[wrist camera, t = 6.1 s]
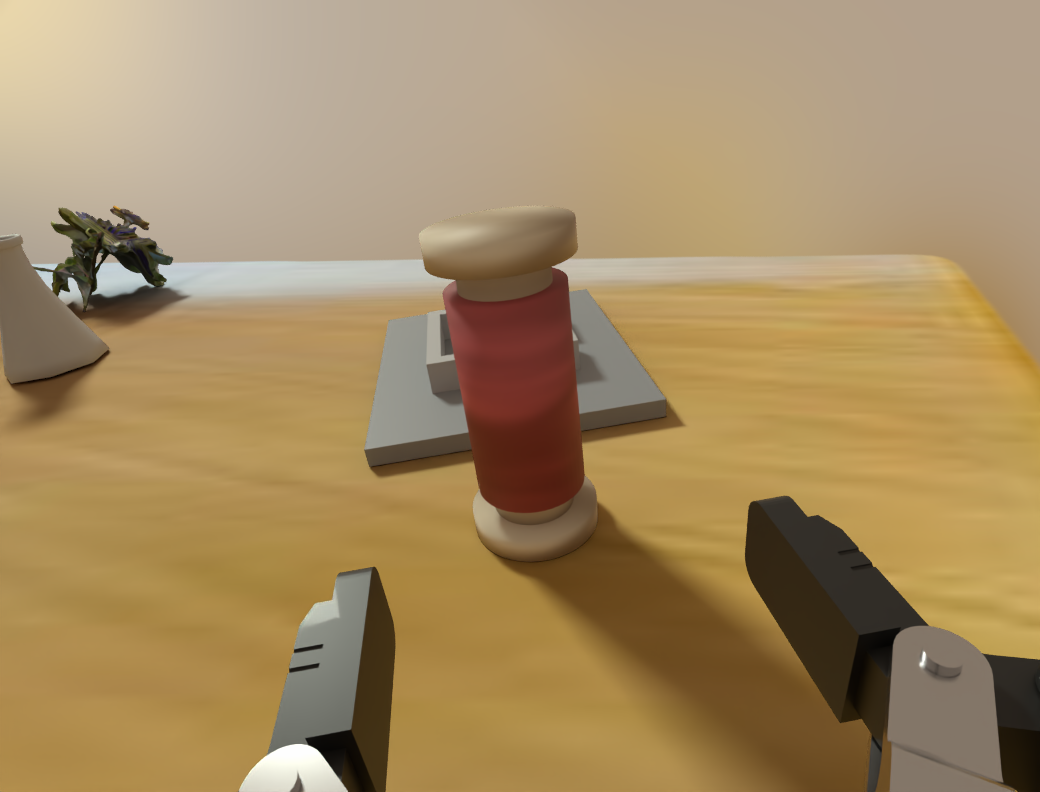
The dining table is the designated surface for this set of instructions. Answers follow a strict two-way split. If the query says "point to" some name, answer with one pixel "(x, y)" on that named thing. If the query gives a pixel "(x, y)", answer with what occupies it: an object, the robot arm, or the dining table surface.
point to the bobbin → (517, 375)
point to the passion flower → (105, 250)
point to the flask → (38, 322)
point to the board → (437, 396)
